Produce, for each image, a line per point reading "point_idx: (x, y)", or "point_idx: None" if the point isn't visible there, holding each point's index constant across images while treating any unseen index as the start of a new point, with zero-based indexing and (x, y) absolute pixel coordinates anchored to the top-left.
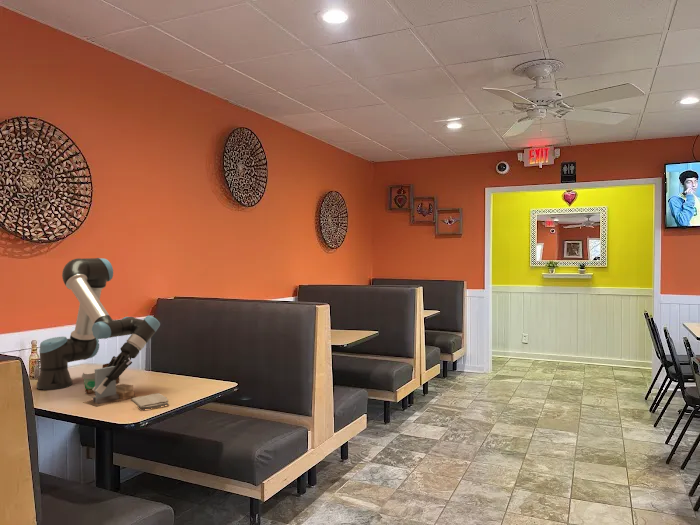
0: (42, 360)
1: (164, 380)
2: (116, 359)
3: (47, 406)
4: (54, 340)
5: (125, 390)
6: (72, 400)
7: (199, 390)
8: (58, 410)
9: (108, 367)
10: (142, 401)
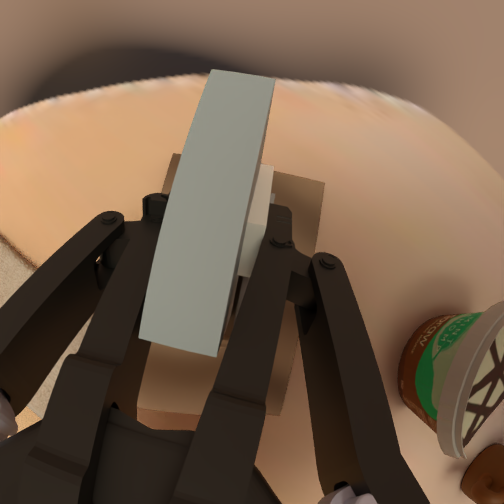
0: None
1: None
2: (201, 470)
3: (423, 126)
4: None
5: None
6: (432, 226)
7: None
8: (329, 94)
9: (187, 237)
10: (9, 281)
